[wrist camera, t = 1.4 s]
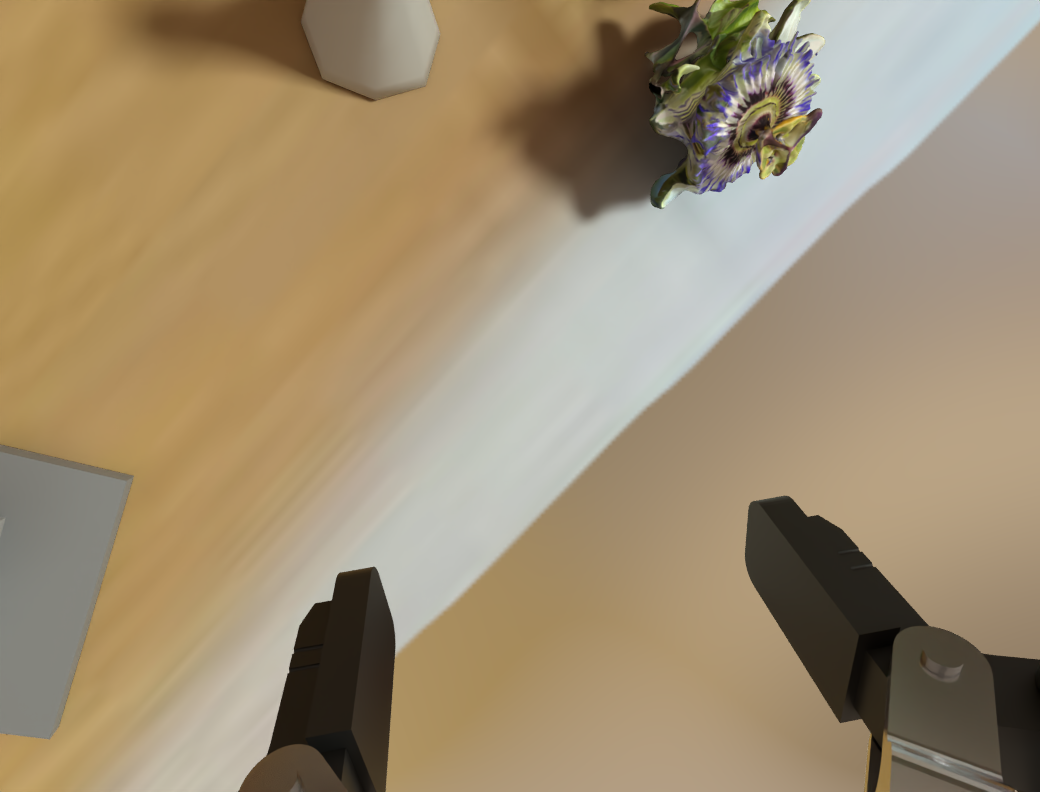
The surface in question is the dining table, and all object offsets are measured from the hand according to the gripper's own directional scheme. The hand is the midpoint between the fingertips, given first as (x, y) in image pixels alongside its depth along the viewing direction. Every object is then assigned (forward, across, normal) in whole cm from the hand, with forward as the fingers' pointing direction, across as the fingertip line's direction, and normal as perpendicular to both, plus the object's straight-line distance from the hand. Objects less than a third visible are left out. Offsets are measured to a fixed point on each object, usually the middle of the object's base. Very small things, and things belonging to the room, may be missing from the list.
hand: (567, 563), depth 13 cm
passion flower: (+30, -14, -6) cm, 34 cm away
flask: (+29, +4, -12) cm, 32 cm away
